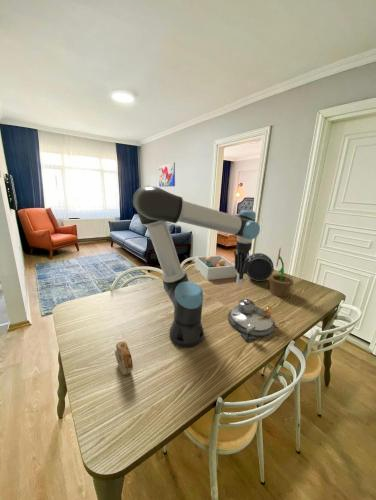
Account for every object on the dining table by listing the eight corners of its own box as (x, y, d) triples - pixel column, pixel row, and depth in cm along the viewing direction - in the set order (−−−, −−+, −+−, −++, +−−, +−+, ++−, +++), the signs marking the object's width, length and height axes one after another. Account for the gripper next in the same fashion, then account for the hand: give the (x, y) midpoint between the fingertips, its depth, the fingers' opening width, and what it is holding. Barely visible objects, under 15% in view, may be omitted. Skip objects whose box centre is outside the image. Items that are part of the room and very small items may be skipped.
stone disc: (135, 376, 71) (134, 353, 68) (124, 382, 69) (123, 357, 66) (124, 356, 79) (123, 334, 76) (114, 360, 77) (113, 338, 74)
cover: (243, 315, 102) (245, 305, 101) (234, 307, 110) (236, 297, 108) (256, 313, 105) (258, 303, 104) (247, 304, 112) (249, 295, 111)
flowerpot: (267, 286, 145) (275, 244, 136) (290, 291, 139) (300, 248, 130) (265, 294, 132) (273, 249, 123) (290, 301, 126) (300, 254, 117)
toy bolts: (226, 269, 170) (228, 255, 167) (225, 277, 154) (227, 262, 150) (204, 266, 174) (206, 252, 170) (201, 274, 158) (202, 258, 154)
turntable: (235, 330, 94) (237, 318, 92) (227, 306, 113) (228, 295, 111) (279, 332, 94) (282, 320, 92) (264, 307, 113) (266, 297, 111)
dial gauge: (245, 341, 91) (248, 327, 88) (240, 335, 94) (242, 321, 92) (255, 339, 92) (257, 324, 90) (249, 333, 96) (252, 319, 94)
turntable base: (244, 341, 90) (245, 338, 90) (220, 313, 110) (220, 309, 109) (284, 332, 98) (285, 328, 97) (254, 307, 118) (255, 304, 117)
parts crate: (207, 280, 148) (208, 268, 146) (194, 267, 170) (195, 257, 167) (234, 276, 156) (236, 265, 154) (219, 265, 178) (220, 255, 175)
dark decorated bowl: (272, 284, 147) (277, 257, 141) (243, 280, 151) (246, 254, 145) (269, 278, 157) (274, 253, 151) (242, 275, 161) (245, 250, 155)
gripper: (258, 244, 101) (252, 288, 108) (243, 238, 113) (238, 278, 120) (245, 245, 98) (239, 290, 105) (231, 238, 110) (226, 279, 117)
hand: (239, 283), depth 112 cm, fingers closed
